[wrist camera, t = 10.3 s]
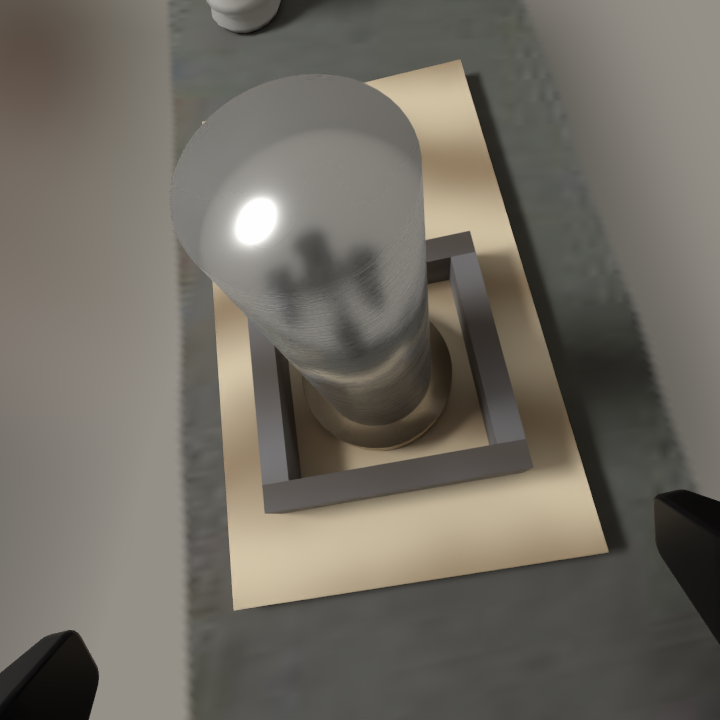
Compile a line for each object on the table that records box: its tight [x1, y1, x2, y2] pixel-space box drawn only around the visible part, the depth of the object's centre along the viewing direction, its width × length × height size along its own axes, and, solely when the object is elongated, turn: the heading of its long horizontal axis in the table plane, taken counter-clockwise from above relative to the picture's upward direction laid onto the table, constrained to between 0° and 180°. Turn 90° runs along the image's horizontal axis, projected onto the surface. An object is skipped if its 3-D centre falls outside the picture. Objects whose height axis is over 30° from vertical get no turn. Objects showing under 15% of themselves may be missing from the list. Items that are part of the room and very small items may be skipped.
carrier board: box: [202, 60, 609, 610], centre depth 21 cm, size 24×14×3 cm, turn 9°
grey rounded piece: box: [170, 74, 452, 451], centre depth 14 cm, size 6×6×13 cm
